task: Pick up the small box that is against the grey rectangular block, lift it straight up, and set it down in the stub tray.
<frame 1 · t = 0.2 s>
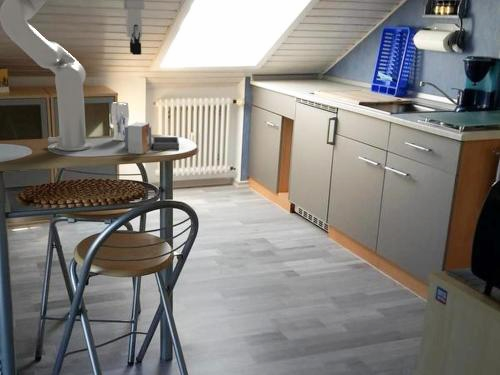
hand: (135, 53, 223), 36 cm above the table, tool pointing down, fingers open, 9 cm apart
stub tray: (165, 146, 237), on the table
grey rectangular block: (138, 147, 234), on the table
small box: (139, 152, 227), on the table
beer glass: (120, 140, 247), on the table
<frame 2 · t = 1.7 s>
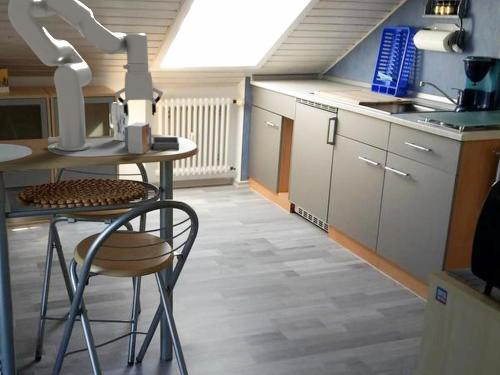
hand: (140, 115, 223), 14 cm above the table, tool pointing down, fingers open, 9 cm apart
nothing on the table moved.
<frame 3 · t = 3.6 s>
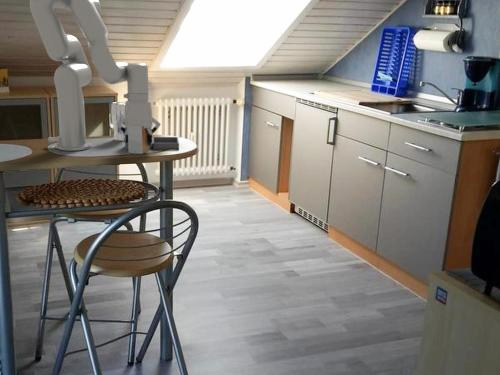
hand: (139, 144, 226), 3 cm above the table, tool pointing down, fingers closed on small box, 7 cm apart
small box: (139, 152, 227), on the table, touching gripper
everything else where it was.
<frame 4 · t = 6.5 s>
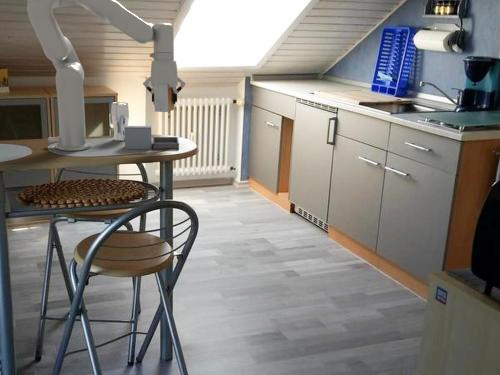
hand: (164, 103, 232), 17 cm above the table, tool pointing down, fingers closed on small box, 7 cm apart
small box: (164, 111, 233), point 14 cm above the table, touching gripper
everything else where it was.
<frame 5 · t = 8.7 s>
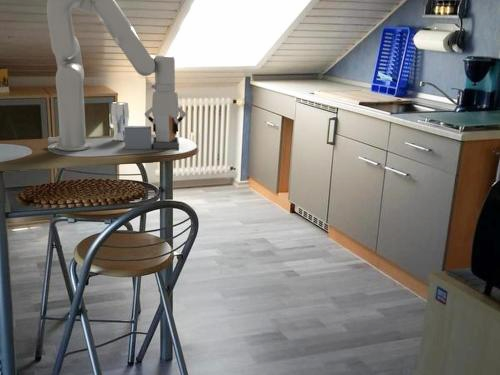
hand: (165, 133, 236), 5 cm above the table, tool pointing down, fingers closed on small box, 7 cm apart
small box: (165, 140, 237), point 2 cm above the table, touching gripper
everything else where it was.
when the fingers open (5 cm above the table, at t = 9.7 s): small box drops 2 cm, resting on stub tray.
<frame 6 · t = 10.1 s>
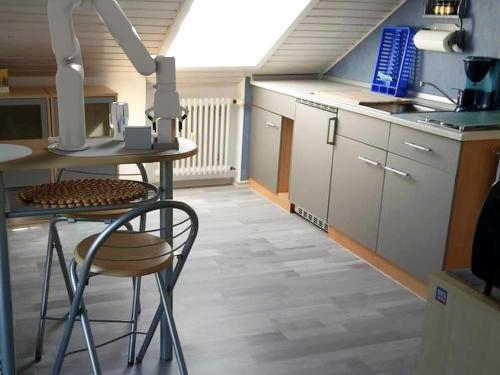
hand: (167, 131, 236), 6 cm above the table, tool pointing down, fingers open, 9 cm apart
small box: (166, 145, 237), resting on stub tray
everything else where it was.
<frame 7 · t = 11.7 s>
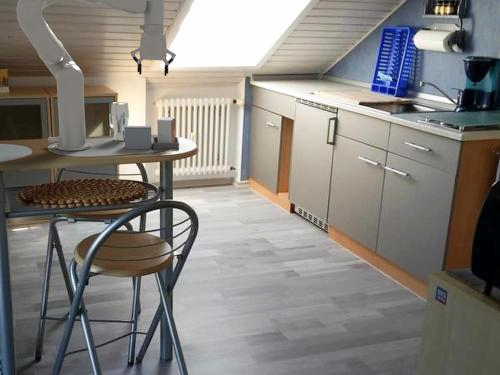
hand: (152, 74, 233), 27 cm above the table, tool pointing down, fingers open, 9 cm apart
nothing on the table moved.
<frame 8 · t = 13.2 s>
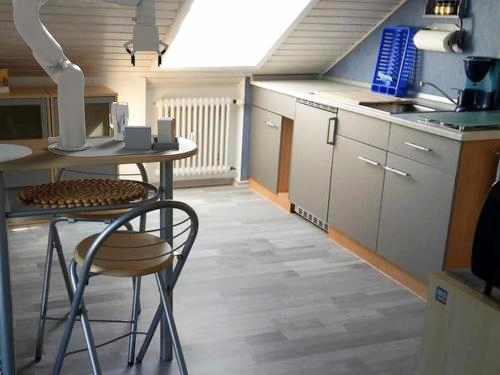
hand: (146, 66, 235), 30 cm above the table, tool pointing down, fingers open, 9 cm apart
nothing on the table moved.
at the end: small box inside the target area on the stub tray (0.5 cm from its centre), point 0.4 cm above the stub tray's base; small box tilted 0°; the gripper is holding nothing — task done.
